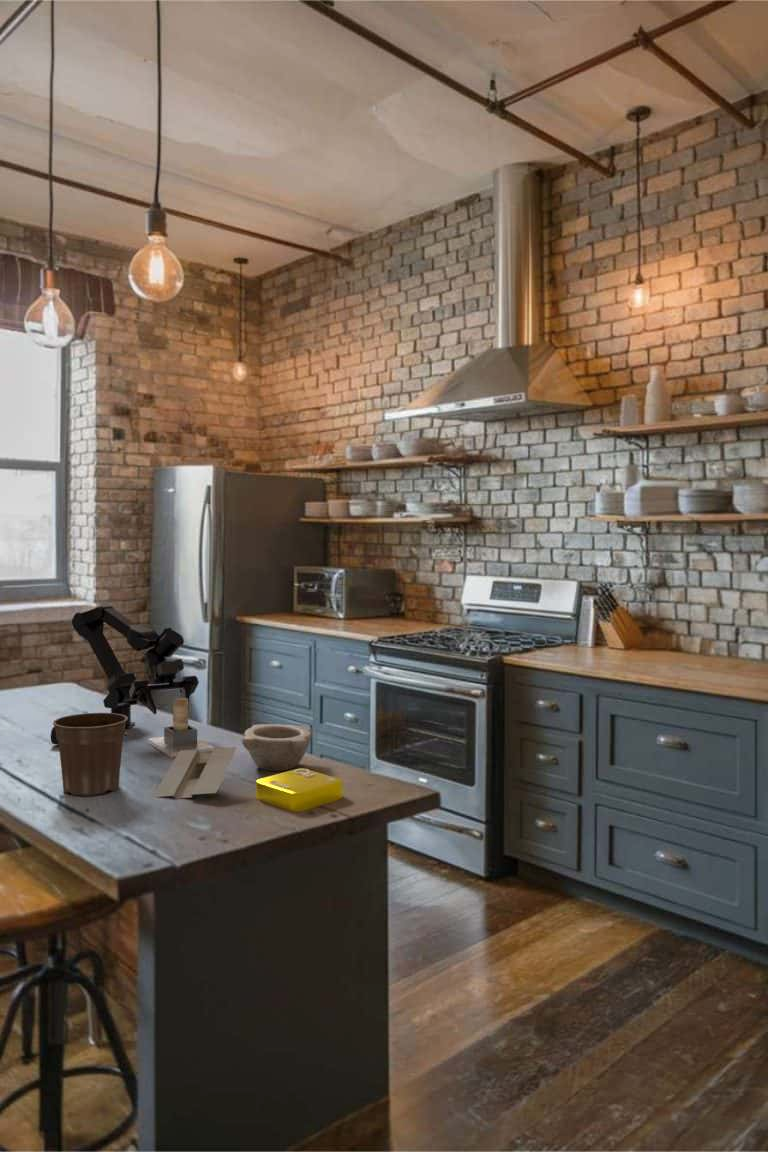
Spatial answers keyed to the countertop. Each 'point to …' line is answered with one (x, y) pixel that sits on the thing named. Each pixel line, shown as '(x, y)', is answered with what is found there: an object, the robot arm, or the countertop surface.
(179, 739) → the post socket base
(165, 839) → the countertop surface
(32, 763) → the countertop surface
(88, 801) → the countertop surface
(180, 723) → the rail post
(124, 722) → the plant pot
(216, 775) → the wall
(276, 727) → the mortar
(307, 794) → the element tile
